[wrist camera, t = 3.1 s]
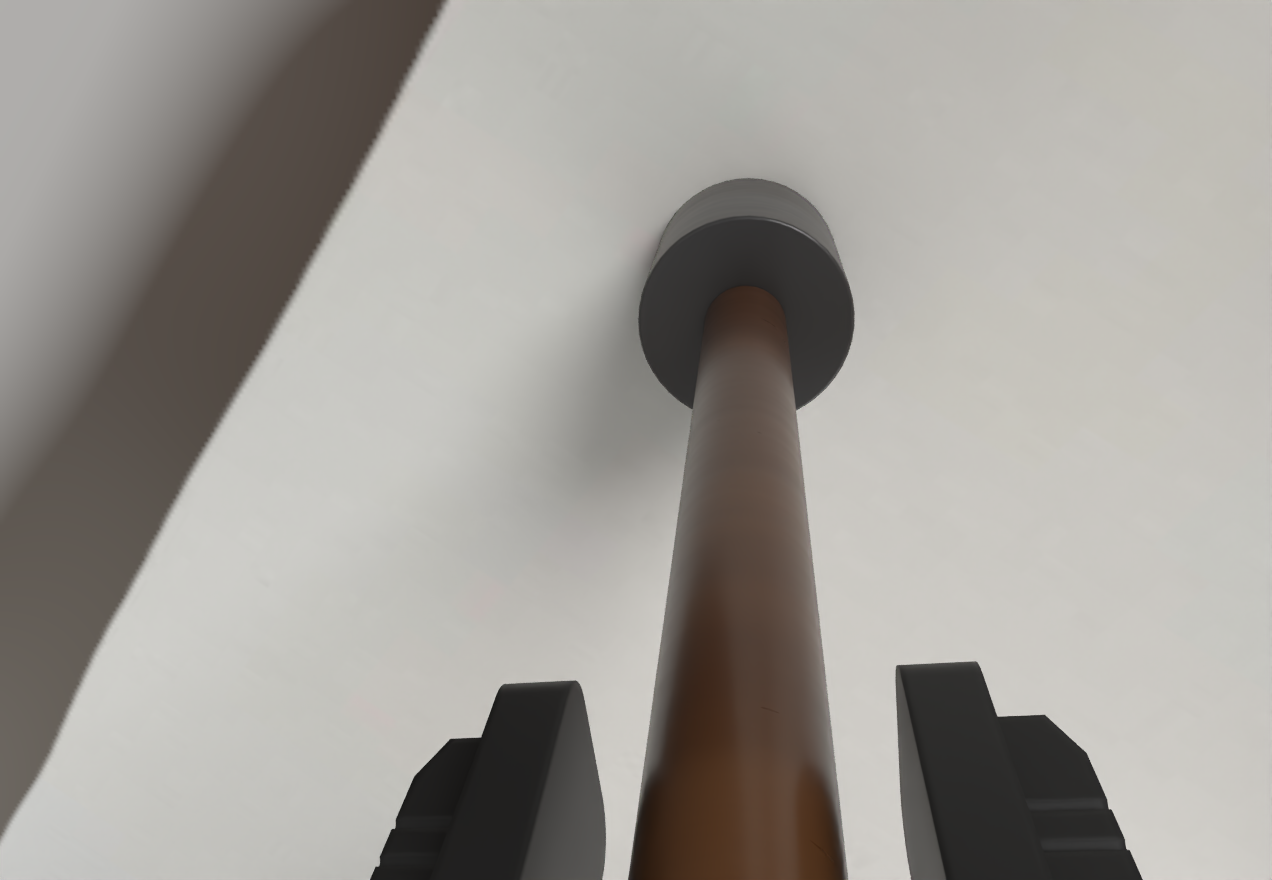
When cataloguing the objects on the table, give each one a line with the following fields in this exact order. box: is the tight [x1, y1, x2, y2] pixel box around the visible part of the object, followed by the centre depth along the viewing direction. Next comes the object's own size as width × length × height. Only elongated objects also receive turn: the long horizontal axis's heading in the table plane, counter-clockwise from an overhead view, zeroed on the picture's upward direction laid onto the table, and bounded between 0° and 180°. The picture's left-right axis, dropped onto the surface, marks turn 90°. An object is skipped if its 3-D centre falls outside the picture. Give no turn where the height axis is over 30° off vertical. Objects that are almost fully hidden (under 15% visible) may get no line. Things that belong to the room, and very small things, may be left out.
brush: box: [628, 178, 854, 880], centre depth 16 cm, size 5×5×24 cm
